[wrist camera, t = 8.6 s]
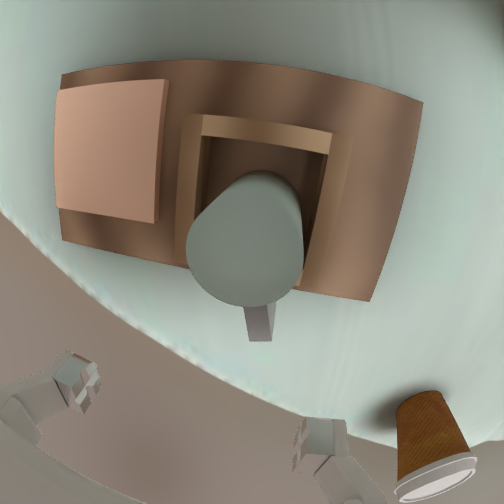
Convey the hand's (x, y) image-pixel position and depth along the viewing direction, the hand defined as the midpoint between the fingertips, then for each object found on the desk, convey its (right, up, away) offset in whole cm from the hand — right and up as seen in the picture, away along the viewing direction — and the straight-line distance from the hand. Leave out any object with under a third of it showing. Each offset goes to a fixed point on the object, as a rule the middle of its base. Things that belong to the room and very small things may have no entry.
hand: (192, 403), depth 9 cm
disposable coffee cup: (+23, -13, +18) cm, 32 cm away
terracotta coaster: (-9, +13, +9) cm, 18 cm away
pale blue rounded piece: (+3, +7, +10) cm, 13 cm away
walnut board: (-1, +11, +10) cm, 15 cm away
